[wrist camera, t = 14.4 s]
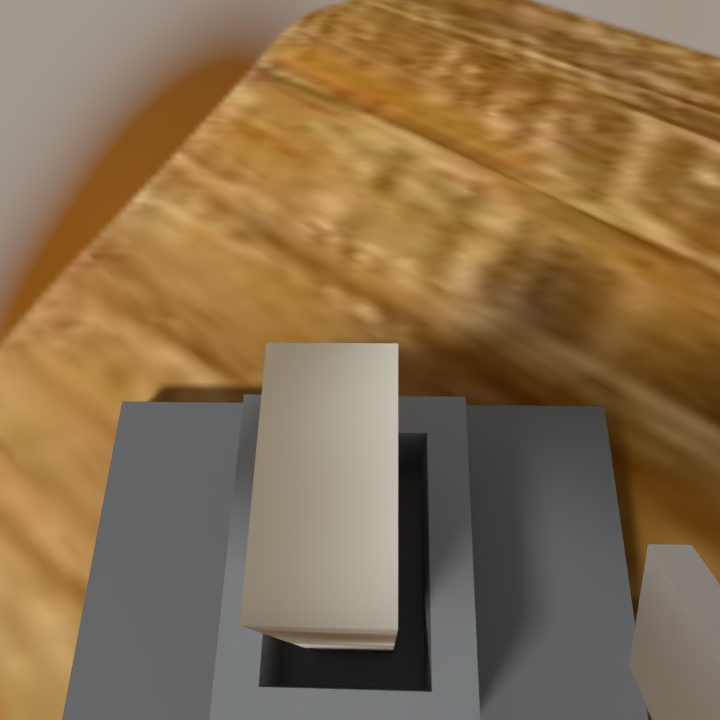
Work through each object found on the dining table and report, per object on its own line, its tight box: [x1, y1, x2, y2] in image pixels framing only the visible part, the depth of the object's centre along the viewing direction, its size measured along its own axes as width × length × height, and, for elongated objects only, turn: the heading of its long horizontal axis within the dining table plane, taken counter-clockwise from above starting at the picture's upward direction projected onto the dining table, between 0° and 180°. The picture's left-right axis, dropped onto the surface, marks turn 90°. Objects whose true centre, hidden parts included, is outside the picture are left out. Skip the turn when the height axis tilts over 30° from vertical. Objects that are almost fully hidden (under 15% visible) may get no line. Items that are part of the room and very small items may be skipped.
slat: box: [240, 343, 398, 653], centre depth 17 cm, size 2×5×12 cm, turn 179°
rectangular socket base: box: [62, 395, 648, 720], centre depth 21 cm, size 18×12×6 cm, turn 89°
